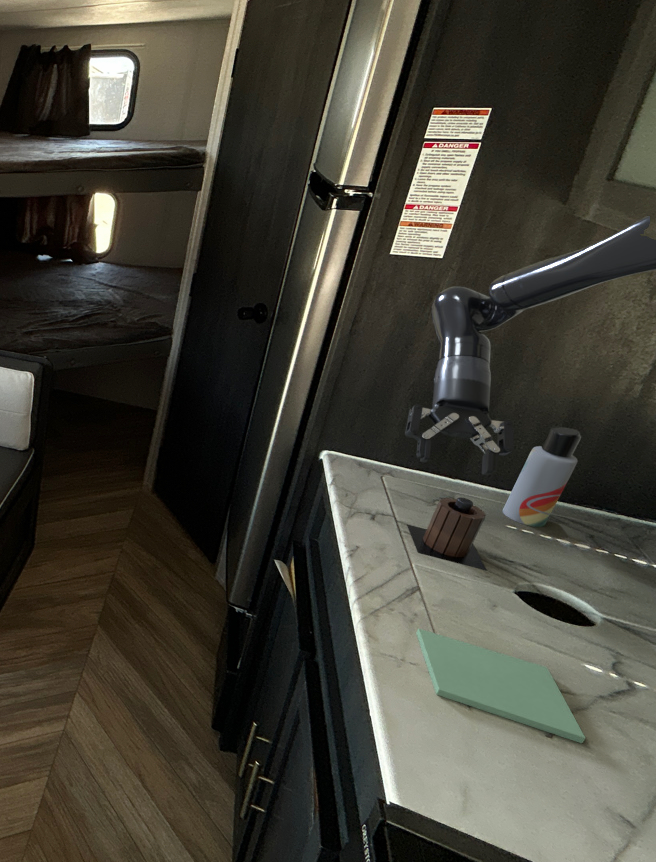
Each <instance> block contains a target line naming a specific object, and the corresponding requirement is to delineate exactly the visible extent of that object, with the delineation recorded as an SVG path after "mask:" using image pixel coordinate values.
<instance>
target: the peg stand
mask: <svg viewBox="0 0 656 862" xmlns="http://www.w3.org/2000/svg"><path fill="white" fill-rule="evenodd" d="M456 499H457V501H456V503H455V505H454V507H453V510H455V511H458V512H460V513H463V514H469V512H470V510H471V508H472V505H474V502H473V500H470V499H469V498H465V497H462V496H461V497H457V498H456ZM406 526H407V527H406V528H407V529H408V532H409V534H410V537H411V540H412V542H413V544H414V547H415V549H416V552H417V554H421V555H424V556H429V557H432V558H436V559H439V560H444V561H447V562H451V563H455V564H459V565H462V566H467V567H471V568H474V569H478V570H483V571H488V570H487V568H486V566H485V563H484V562H483V561H482V558H481V556H480V554H479V553H478V550H477V549H476V547H475V545H474V543H473V544H472V546H471V548H470V551H469V553H468V555H466V556H465V557H455V556H454V557H452V556H448V555H445V554H444V553H443V554H442V553H440V552H437V551H435V550H433V549H432V548H430V547H429V546H428V545H426V543H424V540H423V537H424V535H425V532H426V530H427V528H424V527H419V526H415V525H412V524H408V523H406Z"/></svg>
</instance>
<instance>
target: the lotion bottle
mask: <svg viewBox="0 0 656 862" xmlns="http://www.w3.org/2000/svg"><path fill="white" fill-rule="evenodd" d="M581 439H582V435H581V433H580V431H578V430H576V429H574V428H569V427H565V426H552V427H551V428H550V429H549V431H548V432H547V434H546V437H545V439H544V441H543V443H542V445H539V446H534V447H532V449H531V451H530V453H529V454H528V457H527V459H526V461H525V462H524V465H523V467H522V469H521V471H520V473H519V475H518V477H517V480H515V481H516V482H515V484H514V486H513V488H512V490H511V492H510V494H509V496H508V498H507V501H506V502H505V504H504V506H503V509H502V513H503V515H505V516H506V517H507V518H508V519H511V520H512V521H514V522H516V523H520V524H522V525H525V526H529V527H534V528H542V527H544V526H545V525H546V524H547V522H548V520H549V518H550V517H551V514H552V512H553V511H554V509H555V507H556V504H557V503H558V501H559V499H560V498H561V495H562V493H563V491H564V490H565V488H566V486H567V483H568V482H569V480H570V478H571V476H572V474H573V472H574V470H575V468H576V466H577V464H578V462H579V461H578V458H577V457H576V456H575V455H574V453H575V451H576V449H577V448H578V447H577V446H578V445H579V443H580V441H581Z"/></svg>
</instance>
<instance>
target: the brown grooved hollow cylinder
mask: <svg viewBox="0 0 656 862" xmlns="http://www.w3.org/2000/svg"><path fill="white" fill-rule="evenodd" d="M456 501H457V498H451V497H444V498H441V499H440V500H439V501H438V503H437V504H436V506H435V507H436V508H435V509H434V512H433V514H432V516H431V518H430V520H429V523H428V525H427V528H426V529H427V530H426V532H425V535H424V537H423V540H424V543H426V545H428V546H429V547H430V548H432V549H433V550H435V551H437V552H440V553H442V554H443V553H444V554H445V555H448V556H452V557H454V556H455V557H465V556H466V555H468V553H469V551H470V548H471V546H472V544H473V545H474V542H475V540H476V538H477V536H478V533H479V531H480V529H481V527H482V526H483V523H484V521H485V519H486V516H487V515H486V513H485V511H483V510H482V509H481V508H479V507H478V506H476V505H474V504H473V505H472V508H471V510H470V512H469V514H463V513H460V512H458V511H455V510H453V507H454V505H455V503H456Z"/></svg>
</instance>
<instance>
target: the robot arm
mask: <svg viewBox="0 0 656 862" xmlns="http://www.w3.org/2000/svg"><path fill="white" fill-rule="evenodd" d="M649 224H650V216H647V215H645V216H644V217H642V218H640V219H639V220H637V221H635V222H633V223H631V224H630V225H627V226H626V227H624V228H622V229H620V230H619V231H616V232H614V233H613V234H611V235H609V236H607V237H605V238H603V239H601V240H598V241H597V242H594V243H591V244H589V245H587V246H584V247H581V248H579V249H577V250H574V251H573V250H572V251H570V252H567V253H563V254H560V255H557V256H554V257H550V258H547V259H544V260H541V261H538V262H535V263H533V264H530V265H527V266H524V267H522V268H519V269H516V270H514V271H511V272H509V273H506V274H504V275H502V276H499V277H497V278H496V279H494V280H492V281H491V283H490V284H489V286H488V295H486V294H484V293H481V292H479V291H477V290H474V289H472V288H469V287H465V286H461V285H455V286H453V285H452V286H449V287H447V288H444V289H443V290H441V291H440V292H439V293H438V294H437V295H436V296H435V298H434V299H433V301H432V303H431V308H430V309H431V310H430V315H431V320H432V323H433V327H434V332H435V335H436V339H437V341H438V344H439V345H438V346H439V348H438V360H437V365H436V368H435V373H434V378H433V395H432V405H431V406H432V407H431V408H428V407H423V405H422V404H420V403H416V404H414V405H413V406H412V407H411V408H409V411H408V416H407V421H406V426H405V430H404V435H405V436H406V437H407V438H412V439H414V440H415V441H416V442H417V443H416V458H417V459H419V461H420V462H422V463H427V462H428V461H430V458H431V449H432V440H430V439H431V438H433V437H434V436H436V435H437V434H439V433H441V434H443V435H444V436H445V437H456V438H457V439H458V438H459V439H462V440H468V439H470V441H471V442H472V443H473V444H474V445H475V446H477V447H478V448H479V450H481V451H482V453H483V455H482V459H481V475H484V476H488V477H489V476H490V475H492V474H493V473H495V472H496V471H497V470H498V464H499V456H502V457H504V456H507V455H508V454H510V453H512V452H514V451H515V438H514V422H513V421H512V420H511V419H505V420H504V421H501V420H494V419H491V417H490V415H489V412H490V399H491V381H492V374H491V368H490V366H491V341H490V339H489V338H488V337H487V335H485V334H483V333H482V332H487V331H491V330H494V329H496V328H498V327H500V326H502V325H503V324H505V323H506V322H508V321H509V320H511V319H513V318H515V317H516V316H518V315H520V314H521V313H522V312H524V311H526V310H529V309H533V308H536V307H539V306H541V305H545V304H548V303H551V302H554V301H557V300H560V299H563V298H565V297H568V296H570V295H574V294H575V293H579V292H582V291H584V290H586V289H589V288H592V287H596V286H597V285H600V284H603V283H606V282H610V281H613V280H617V279H620V278H624V277H628V276H632V275H636V274H642V273H647V272H653V271H656V240H654V239H651V238H649V237H647V236H641V235H640V234H644V230H645V229H647V228H648V227H649ZM426 416H428V418H429V419H430V421H431V423H433V424H434V425H433V426H432V427H430V428H429V429H427V430H426V431H424V432H423V431H421V430H420V424H421V420H422V419H424V418H426ZM489 427H490V428H492V430H493V432H494V433H495V434H496V439H497V443H496V442H495V441H494V440H493V436H492V434H491V433H490V432H489V431H488V430H487V429H488V428H489Z"/></svg>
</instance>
